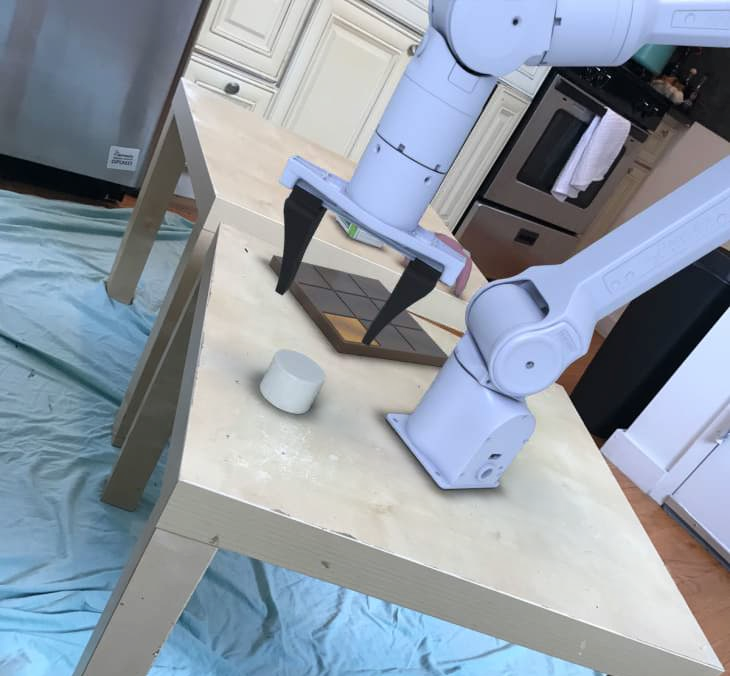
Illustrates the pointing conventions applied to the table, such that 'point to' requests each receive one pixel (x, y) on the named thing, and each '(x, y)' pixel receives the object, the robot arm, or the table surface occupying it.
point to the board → (359, 315)
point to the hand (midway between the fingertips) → (324, 315)
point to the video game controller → (456, 246)
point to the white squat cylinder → (292, 381)
